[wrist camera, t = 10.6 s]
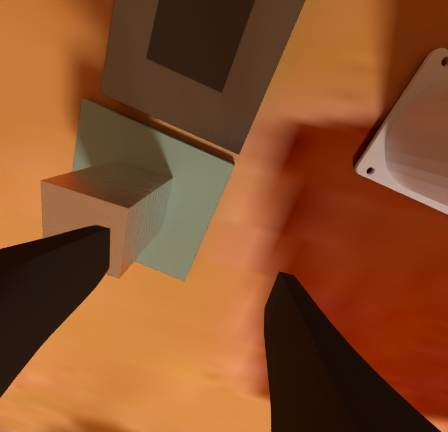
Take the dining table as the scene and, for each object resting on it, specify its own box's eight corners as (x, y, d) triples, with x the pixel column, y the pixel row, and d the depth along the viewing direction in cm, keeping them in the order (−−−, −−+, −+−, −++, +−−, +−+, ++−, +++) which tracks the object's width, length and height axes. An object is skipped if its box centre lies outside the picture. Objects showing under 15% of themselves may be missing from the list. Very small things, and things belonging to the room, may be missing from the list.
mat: (234, 163, 17) (234, 165, 17) (186, 277, 22) (184, 281, 21) (87, 98, 17) (81, 98, 16) (69, 229, 21) (64, 232, 21)
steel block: (173, 177, 18) (128, 208, 11) (162, 227, 20) (119, 278, 13) (117, 159, 18) (40, 180, 11) (112, 211, 19) (43, 254, 13)
